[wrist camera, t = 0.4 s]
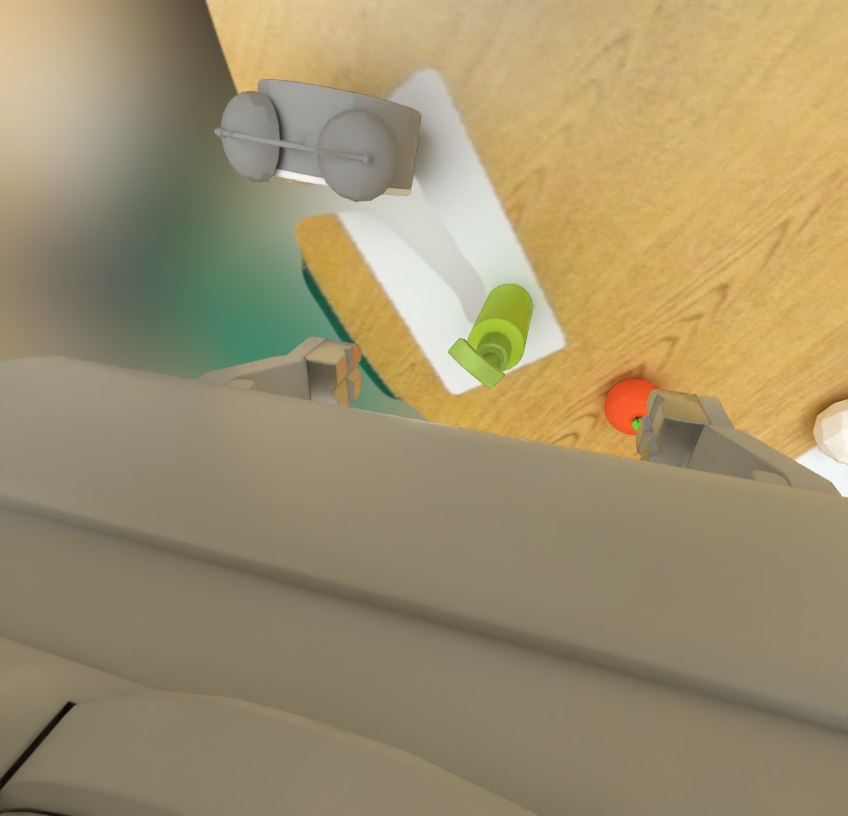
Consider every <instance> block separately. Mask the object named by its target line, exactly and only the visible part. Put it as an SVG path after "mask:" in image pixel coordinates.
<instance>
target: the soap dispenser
mask: <svg viewBox="0 0 848 816" xmlns="http://www.w3.org/2000/svg"><path fill="white" fill-rule="evenodd" d="M531 314H532V300H531V297H530V295H529V294H528V293H527V291H526V290H524V289H523V288H522V287H520V286H518V285H514V284H504V285H501V286H498V287H497V288H495V289H494V290H493V291H492V292H491V293H490V294H489V296H488V298H487V300H486V302H485V304H484V306H483V308H482V310H481V312H480V314H479V316H478V319H477V320H476V322H475V324H474V327H473V329H472V331H471V333H470V335H469V338H468V342H467V341H466V340H465V339H462V338H459V339H458V340H457V342H456V343H455V344H454V345H453V346H452V347H451V348H450V349H449V350H448V353H449V354H450V355H451V356H452V357H453V358H454V359H455V360H456V361H457V362H458V363H459V364H460V365H461V366H462V367H463V368H464V369H465V370H467V371H468V372H469V373H470V374H471V375H473V376H474V377H475V378H476V379H478V380H479V381H480V382H481V383H483V384H484V385H485V386H487V387H488V388H489V389H492V388H493V387H494V386H495V385H496V384H497V383H498V382H499V381H500V380H501V379H502V378H503V377H504V376H505V374H504V373H503V371H505V370H508V369H510V368H512V367H514V366H515V365H516V364H517V363H518V362H519V361H520V359H521V358H522V356H523V353H524V349H525V344H526V339H527V334H528V329H529V324H530V319H531Z"/></svg>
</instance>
